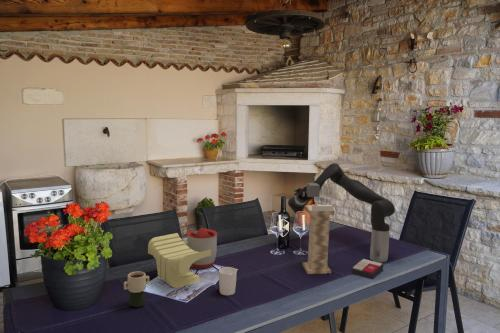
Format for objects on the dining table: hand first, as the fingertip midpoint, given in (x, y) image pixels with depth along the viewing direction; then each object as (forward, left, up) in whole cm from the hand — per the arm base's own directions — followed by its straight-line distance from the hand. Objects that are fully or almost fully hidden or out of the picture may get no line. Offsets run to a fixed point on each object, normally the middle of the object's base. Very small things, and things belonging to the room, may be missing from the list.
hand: (309, 187), depth 222 cm
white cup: (+63, +8, -39) cm, 74 cm away
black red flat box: (-7, +34, -40) cm, 53 cm away
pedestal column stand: (+11, +16, -39) cm, 43 cm away
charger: (+1, +2, -3) cm, 4 cm away
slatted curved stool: (+73, -16, -39) cm, 84 cm away
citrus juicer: (+53, -26, -39) cm, 71 cm away
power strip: (+14, +19, -7) cm, 25 cm away
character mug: (+99, -6, -39) cm, 106 cm away
